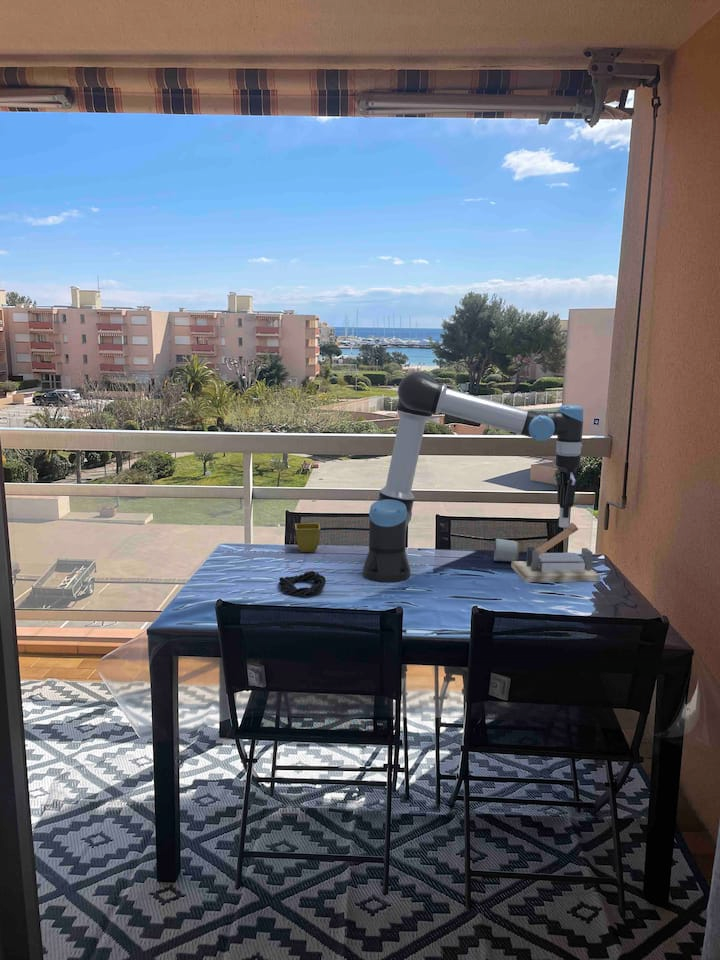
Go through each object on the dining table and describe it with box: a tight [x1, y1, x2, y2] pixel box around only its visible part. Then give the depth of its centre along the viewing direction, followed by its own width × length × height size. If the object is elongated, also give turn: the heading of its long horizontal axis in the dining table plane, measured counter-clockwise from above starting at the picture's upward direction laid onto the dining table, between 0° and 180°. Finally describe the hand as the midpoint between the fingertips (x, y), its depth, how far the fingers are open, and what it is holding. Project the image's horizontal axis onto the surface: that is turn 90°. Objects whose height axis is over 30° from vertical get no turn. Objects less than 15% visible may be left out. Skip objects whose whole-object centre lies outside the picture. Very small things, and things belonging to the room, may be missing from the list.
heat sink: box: [525, 545, 593, 573], centre depth 244 cm, size 20×11×6 cm, turn 94°
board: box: [510, 560, 601, 583], centre depth 245 cm, size 24×16×2 cm, turn 95°
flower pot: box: [294, 522, 321, 553], centre depth 266 cm, size 9×9×9 cm
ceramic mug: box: [493, 538, 520, 563], centre depth 260 cm, size 11×8×8 cm
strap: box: [530, 522, 579, 555], centre depth 243 cm, size 17×4×2 cm
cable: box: [278, 570, 327, 598], centre depth 225 cm, size 17×14×4 cm
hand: (563, 526), depth 242 cm, fingers closed
